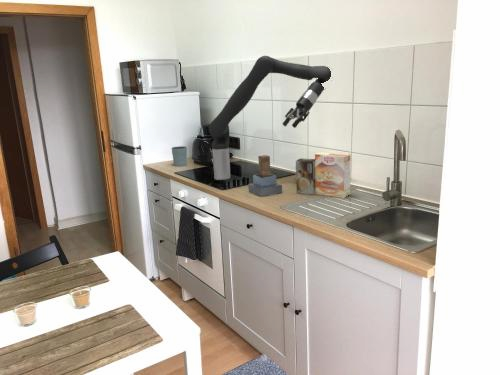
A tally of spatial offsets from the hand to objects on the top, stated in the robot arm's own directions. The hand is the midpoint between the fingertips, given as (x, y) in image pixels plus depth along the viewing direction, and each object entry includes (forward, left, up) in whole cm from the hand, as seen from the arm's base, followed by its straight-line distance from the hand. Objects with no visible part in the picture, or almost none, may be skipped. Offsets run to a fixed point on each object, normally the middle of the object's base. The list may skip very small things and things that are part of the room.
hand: (288, 126), depth 212 cm
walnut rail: (+3, -16, -27) cm, 31 cm away
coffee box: (+16, -1, -31) cm, 35 cm away
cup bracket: (+3, -17, -31) cm, 35 cm away
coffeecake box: (+26, +6, -31) cm, 41 cm away
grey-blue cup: (-91, -27, -31) cm, 100 cm away
